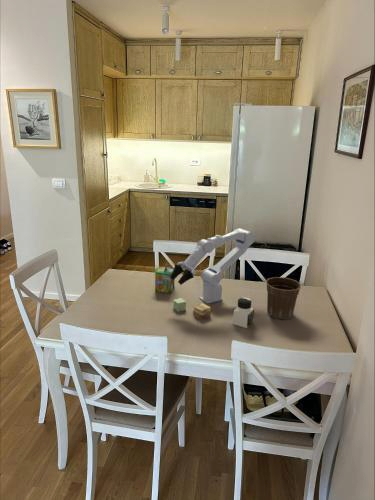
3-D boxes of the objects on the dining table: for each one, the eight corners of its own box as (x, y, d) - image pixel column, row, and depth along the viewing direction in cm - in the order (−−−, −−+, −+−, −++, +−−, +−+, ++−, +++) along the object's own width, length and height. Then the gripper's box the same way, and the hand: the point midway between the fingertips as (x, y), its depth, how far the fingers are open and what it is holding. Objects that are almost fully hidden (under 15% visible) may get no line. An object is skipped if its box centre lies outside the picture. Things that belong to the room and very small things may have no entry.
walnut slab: (203, 312, 178) (203, 307, 177) (210, 317, 173) (210, 312, 172) (192, 315, 175) (193, 310, 174) (199, 320, 170) (199, 315, 170)
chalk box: (159, 285, 207) (159, 260, 202) (174, 287, 205) (175, 262, 201) (154, 291, 198) (154, 266, 194) (170, 293, 197) (171, 268, 192)
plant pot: (274, 303, 189) (278, 274, 184) (303, 314, 178) (307, 283, 173) (256, 313, 178) (259, 282, 173) (285, 325, 167) (289, 293, 162)
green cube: (181, 306, 183) (181, 297, 182) (185, 309, 179) (185, 301, 178) (173, 308, 181) (173, 299, 180) (177, 311, 177) (177, 303, 176)
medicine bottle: (247, 328, 163) (249, 304, 160) (232, 324, 167) (234, 300, 163) (253, 322, 169) (255, 298, 165) (239, 318, 173) (240, 294, 169)
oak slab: (202, 307, 177) (202, 303, 176) (210, 312, 173) (210, 307, 172) (193, 311, 174) (194, 306, 173) (201, 315, 170) (202, 310, 169)
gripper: (181, 251, 182) (163, 271, 179) (197, 258, 170) (178, 280, 167) (189, 259, 185) (172, 280, 183) (205, 267, 174) (186, 289, 171)
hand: (175, 281), depth 175 cm, fingers open, 7 cm apart
